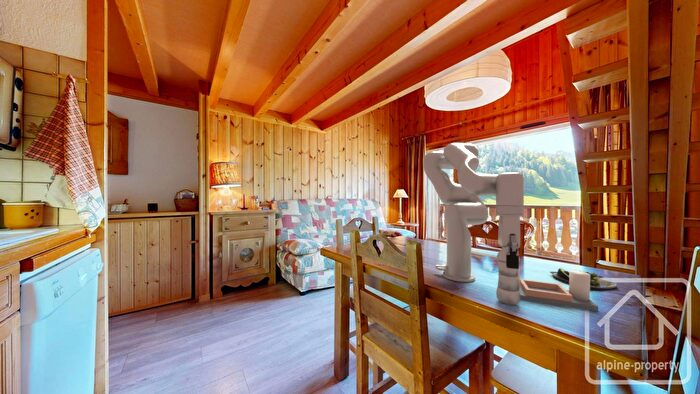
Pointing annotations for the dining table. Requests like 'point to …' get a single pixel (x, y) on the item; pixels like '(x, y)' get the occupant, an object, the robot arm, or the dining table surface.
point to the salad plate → (594, 280)
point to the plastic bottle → (507, 280)
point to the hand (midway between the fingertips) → (509, 264)
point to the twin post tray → (559, 291)
